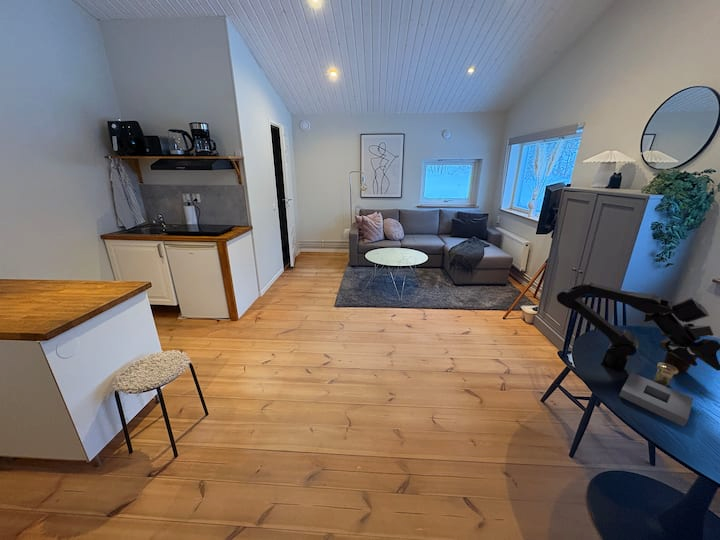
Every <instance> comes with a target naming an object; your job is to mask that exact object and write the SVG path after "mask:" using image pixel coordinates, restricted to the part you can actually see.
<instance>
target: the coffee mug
mask: <svg viewBox="0 0 720 540" xmlns="http://www.w3.org/2000/svg"><path fill="white" fill-rule="evenodd" d="M687 350H688V351H689V353H690V354H691V355H692V357H693V358H694V360H695V361H696V360H697V359H698V358H697V357H696V356H695V354H694V353H692V352H691V351H690V348H687ZM662 363H667V364H670V365H672V366H674V367H676V368H677V369H678V373H677V374H679V375H680V374H681V375H683V374H686V373H687V371H689V369H690V367H691V366H692V365H691V364H689V363H688V362H686V361H684V360H682V359H680V358H679V357H677V356H675V355H673V354H671V353H669V352H667V351H666V350H665V355H664V359H663V362H662Z"/></svg>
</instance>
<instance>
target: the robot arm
mask: <svg viewBox="0 0 720 540" xmlns="http://www.w3.org/2000/svg"><path fill="white" fill-rule="evenodd" d="M588 294H589V295H592V296H596V297H599V298H603V299H607V300H611V301H613V302H614V301H615V302H618V303H621V304H625V305H627V306H629V307H631V308H633V309H635V310H636V311H640V312H642V313H645V314H644V320H643V322H645V323H648V322H650V321H652V322H653V323H654V324H655V325H656V326H657V328H658V329H659V330H660V331H661V332H660V335H661V336H662V337H666V338H665V339H662V340H661V341H659V342H658V346H659V347H660V348H661V349H662V351H665V352H666V351H667V352H669V353H671V354H673V355H675V356H677V357H679V358H680V359H682V360H684V361H686V362H688V363H689V364H691V366H693V367H696V366H698V365H699V364H698V363H697V362H696V360H694V358H693V357H692V355H691V354H690V353H689V351H688V350H687V348H690V351H691V352H692V353H694V354H695V356H696V357H697V359H699V360H700V361H702V362H704V363H705V364H707V365H708V366H710V367H711V368H712V369H714V370H716V371H718V372H719V371H720V361H719V358H718V355H717V352H718V351H719V350H720V342H719V341H718V340H714V339H705V338H702V339H701V337H707V336H709V337H710V336H711V337H712V336H714V332H713V330H712V328H711V326H710V325H702V324H701V325H695V324H693V323H690V322H694V321H697V320H700V319H704V318H708V317H710V314H709V312H708V311H707V309H706V308H705V307H704V306H703V305H702V303H700V302H698V301H697V300H695V299H694V298H693V297H689V298H686V299H685V300H683V301H680V302H676V303H675V302H672V301H670V300H666V299H664V298H660V296H658V295H656V294H654V293H647V292H646V293H645V292H631V291H624V290H622V289H618V288H613V287H609V286H605V285H600V284H596V283H593V282H591V281H585V282H584V283H582V284H578V285H576V286H573V287H565V288H563V289H562V290H561V291H560V292H559V293H558V294H556V301H557V302H558V303H559V304H561V305H562V306H564V307H566V308H567V309H570V310H573V311H575V312H577V314H579V315H580V316H581V317H582V318H583V319H585V320H586V321H587V322H588V323H590V324H591V325H592V326H593V327H595V328H596V329H597V330H598V331H600V332H601V333H602V334H603V335H604V336H606V337H607V338H608V340H609V342H610V344H609V345H608V347H607V349H606V351H605V353H604V355H603V359H601V362H600V364H601V365H602V366H604V367H607V368H610V369H612V370H614V371H617V372H619V373H621V372H622V370H625V369H626V367H627V364H628V362H629V360H630V359H629V358H628V357H629V356H633V355H636V353H637V351H638V349H639V346H640V343H639V340H638V339H637V336H636V335H634V334H632V333H631V332H630V331H629V330H628V329H624V330H621V329H619V328H616V327H615V326H614V325H613V324H612V323H610V322H609V321H607V319H606V318H604V317H603V316H602V315H600V314H599V313H597V312H596V311H595V310H594V309H593V308H592V307H590V306H589V305H587V304H586V303H585V302H584V300H583V299H582V297H583V296H586V295H588ZM681 322H683V323H684V322H685V323H684V324H682V323H681ZM700 339H701V340H700ZM696 341H697V342H696Z"/></svg>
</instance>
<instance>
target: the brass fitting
mask: <svg viewBox="0 0 720 540" xmlns="http://www.w3.org/2000/svg"><path fill="white" fill-rule="evenodd" d="M656 367H657V372H656V373H655V375H654V377H653V380H652V381H653V382H656V383H658V384H660V385H663V386H665V387H668V386H669V385H670V383H671V381H672V378H673V377H674V376H676V375H678V374H679V373H678V369H677V368H676V367H674V366H672V365H670V364H667V363H663V362H658V363H657V365H656Z"/></svg>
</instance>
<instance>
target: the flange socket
mask: <svg viewBox="0 0 720 540" xmlns="http://www.w3.org/2000/svg"><path fill="white" fill-rule="evenodd" d="M618 396H619V397H620V398H623V399H625V400H627V401H629V402H630V403H633V404H635V405H637V406H639V407H641V408H643V409H645V410H646V411H647V410H648V411H650V412H652V413H654V414H656V415H658V416H660V417H662V418H664V419H666V420H669V421H671V422H673V423H675V424H677V425H679V426H681V427H683V428H684V427H685V426H686V424H687V423H688V420H689V417H690V414H691V410H692V405H693V401H694V397H691V396H689V395H686V394H684V393H682V392H680V391H677V390H675V389H673V388H669V387H668V386H663V385H660V384H658V383H656V382H654V380H652V379H649V378H646V377H644V376H641V375H638V374H636V373H634V372H630V373H629V375H628V378H627V379H626V381H625V383H624V385H623V386H622V387H621V390H620V392H619V395H618Z"/></svg>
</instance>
